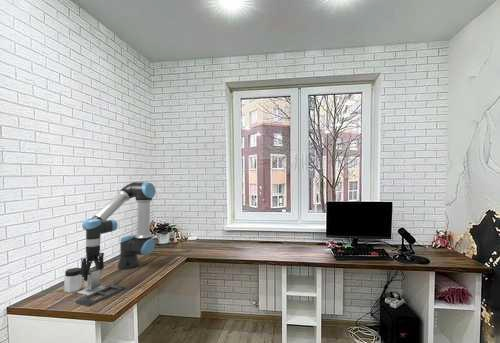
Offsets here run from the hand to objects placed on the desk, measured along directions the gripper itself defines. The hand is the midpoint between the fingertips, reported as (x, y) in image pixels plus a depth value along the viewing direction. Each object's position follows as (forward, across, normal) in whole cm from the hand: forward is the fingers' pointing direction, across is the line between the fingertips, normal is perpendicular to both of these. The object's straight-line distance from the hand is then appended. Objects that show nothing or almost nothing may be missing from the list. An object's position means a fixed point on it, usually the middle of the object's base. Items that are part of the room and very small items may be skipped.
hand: (92, 283), depth 160 cm
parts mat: (+4, 0, 0) cm, 4 cm away
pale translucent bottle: (+2, 0, 0) cm, 2 cm away
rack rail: (+4, +3, +12) cm, 13 cm away
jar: (+4, +4, -11) cm, 12 cm away
